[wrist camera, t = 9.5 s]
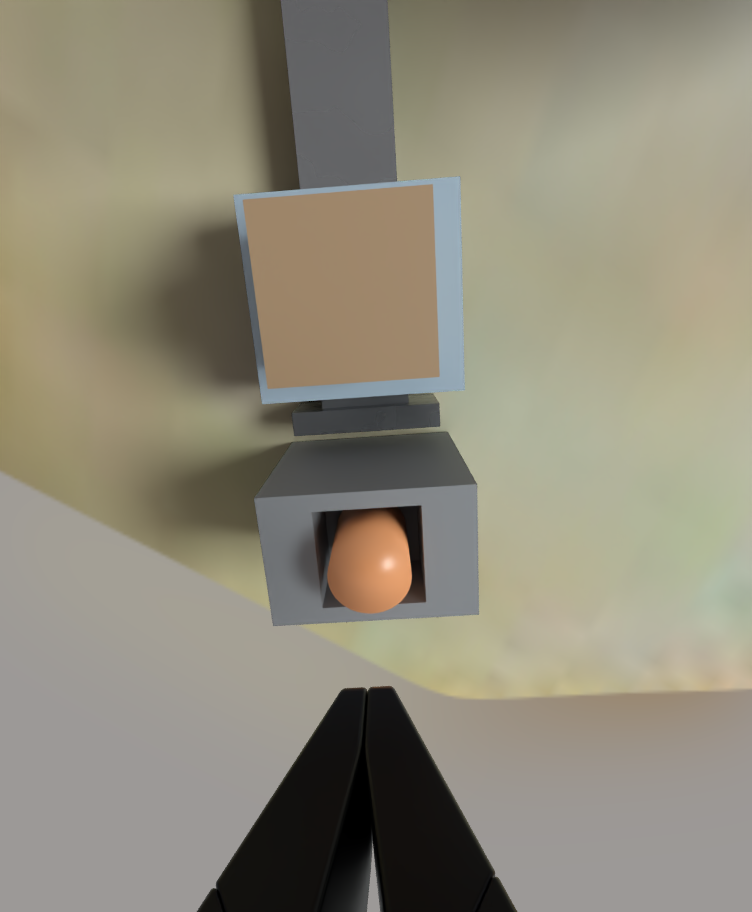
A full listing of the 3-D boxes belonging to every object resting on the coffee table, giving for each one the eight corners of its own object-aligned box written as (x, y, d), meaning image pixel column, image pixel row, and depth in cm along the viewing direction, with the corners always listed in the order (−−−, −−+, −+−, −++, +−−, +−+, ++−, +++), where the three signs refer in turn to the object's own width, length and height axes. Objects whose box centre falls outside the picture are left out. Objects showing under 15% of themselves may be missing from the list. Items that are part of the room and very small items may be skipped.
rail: (406, -301, 13) (410, -405, 11) (433, 414, 19) (440, 426, 17) (222, -281, 13) (196, -380, 12) (302, 423, 19) (294, 436, 17)
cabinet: (447, 431, 19) (476, 484, 13) (450, 527, 20) (479, 614, 14) (292, 442, 19) (253, 498, 13) (303, 536, 20) (273, 625, 14)
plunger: (404, 493, 15) (409, 535, 13) (408, 557, 16) (413, 611, 13) (333, 498, 15) (323, 540, 13) (340, 561, 16) (331, 615, 13)
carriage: (447, 197, 16) (490, 124, 10) (452, 379, 18) (492, 416, 12) (256, 213, 17) (177, 150, 10) (279, 390, 18) (223, 434, 12)
